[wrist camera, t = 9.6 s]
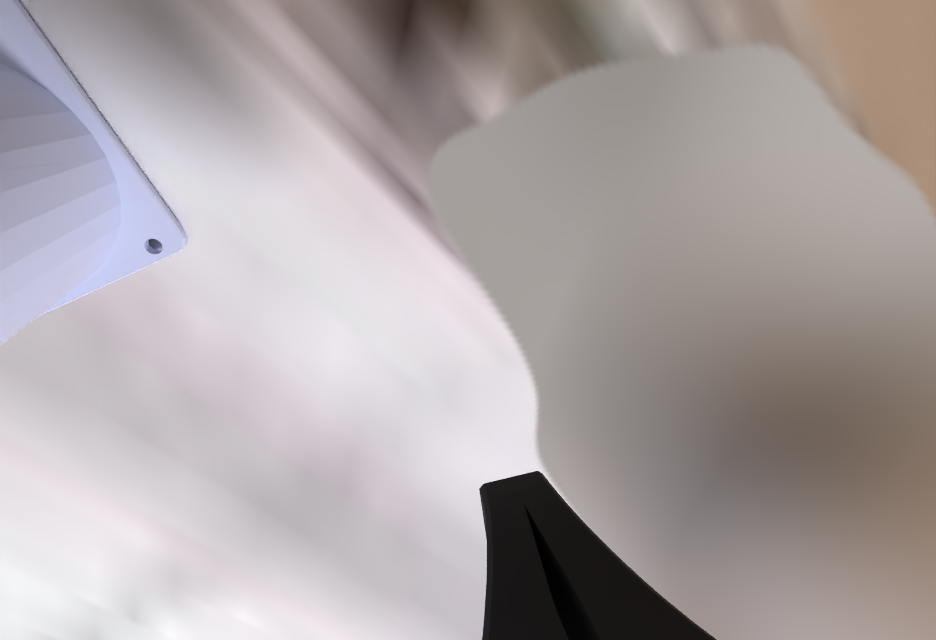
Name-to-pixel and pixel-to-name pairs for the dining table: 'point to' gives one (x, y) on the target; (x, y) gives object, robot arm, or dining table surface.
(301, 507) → the dining table surface
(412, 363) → the dining table surface
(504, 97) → the dining table surface
